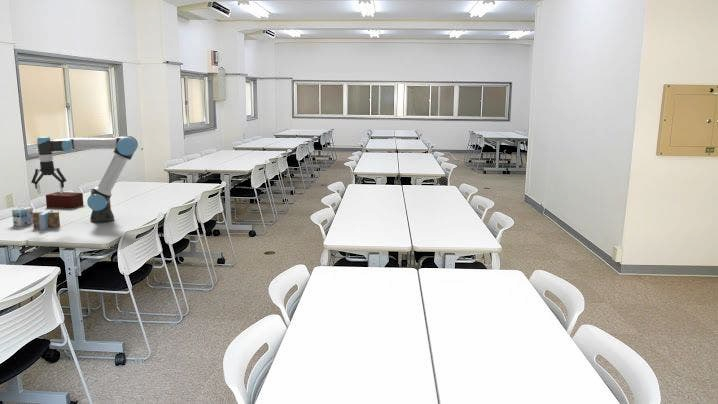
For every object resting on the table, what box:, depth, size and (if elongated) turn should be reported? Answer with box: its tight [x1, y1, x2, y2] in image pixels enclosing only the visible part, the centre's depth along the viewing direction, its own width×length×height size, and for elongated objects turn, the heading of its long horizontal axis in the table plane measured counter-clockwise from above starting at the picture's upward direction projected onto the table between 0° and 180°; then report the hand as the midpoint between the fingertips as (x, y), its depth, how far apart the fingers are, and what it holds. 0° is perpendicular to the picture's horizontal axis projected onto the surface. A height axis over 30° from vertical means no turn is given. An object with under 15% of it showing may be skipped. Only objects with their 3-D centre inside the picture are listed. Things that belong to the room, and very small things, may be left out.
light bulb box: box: [11, 206, 34, 227], centre depth 352 cm, size 11×7×11 cm, turn 168°
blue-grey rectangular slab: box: [39, 209, 54, 231], centre depth 346 cm, size 14×3×10 cm, turn 9°
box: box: [45, 191, 85, 209], centre depth 411 cm, size 21×16×10 cm
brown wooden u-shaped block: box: [32, 211, 61, 229], centre depth 346 cm, size 15×3×10 cm, turn 99°
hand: (50, 193), depth 344 cm, fingers open, 13 cm apart
